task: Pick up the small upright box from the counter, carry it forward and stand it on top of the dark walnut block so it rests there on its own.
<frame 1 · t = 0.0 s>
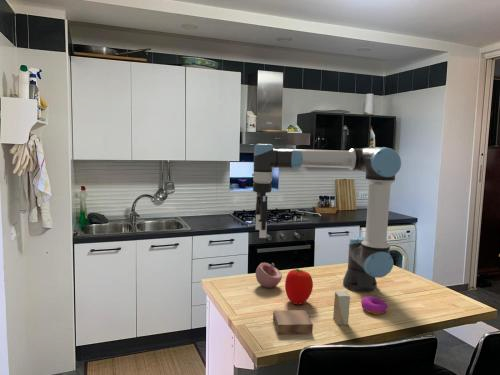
hand: (260, 233, 157), 28 cm above the counter, fingers open, 13 cm apart
walnut block: (291, 327, 137), on the counter
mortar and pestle: (268, 287, 174), on the counter
donut: (373, 310, 153), on the counter
box: (340, 322, 142), on the counter
tomato: (298, 302, 158), on the counter
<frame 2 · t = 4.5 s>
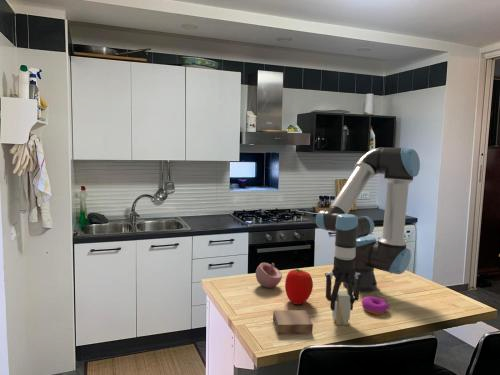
hand: (340, 318, 141), 1 cm above the counter, fingers closed on box, 4 cm apart
box: (340, 322, 142), on the counter, touching gripper
everything else where it was.
when the fingers open (6 cm above the counter, at t = 9.7 s): box stays where it is, resting on walnut block.
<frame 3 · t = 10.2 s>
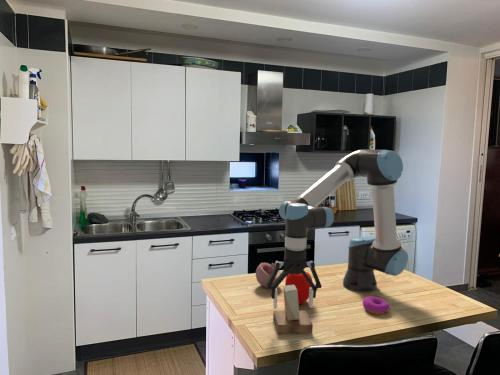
hand: (292, 306, 136), 7 cm above the counter, fingers open, 12 cm apart
walnut block: (291, 328, 137), on the counter, touching box
box: (292, 317, 136), point 4 cm above the counter, touching walnut block
everything else where it was.
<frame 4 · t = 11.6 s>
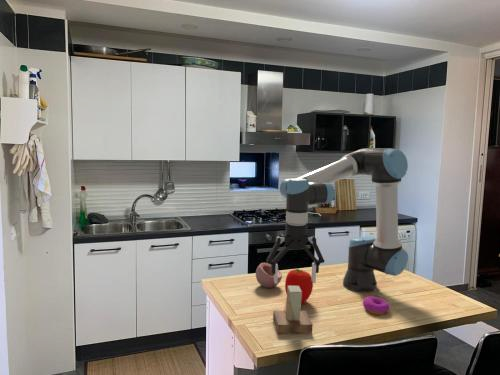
hand: (294, 282, 135), 16 cm above the counter, fingers open, 13 cm apart
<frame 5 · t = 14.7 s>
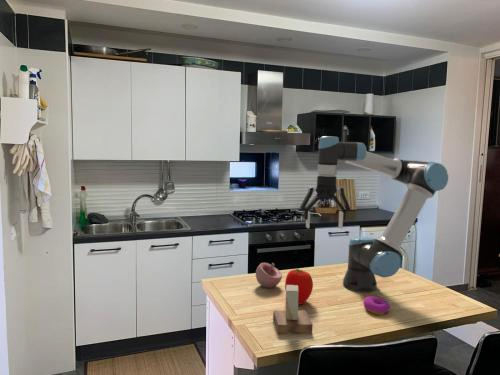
hand: (324, 227, 154), 32 cm above the counter, fingers open, 13 cm apart
at the end: box inside the target area on the walnut block (0.2 cm from its centre), point 4.0 cm above the walnut block's base; box tilted 5°; the gripper is holding nothing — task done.
